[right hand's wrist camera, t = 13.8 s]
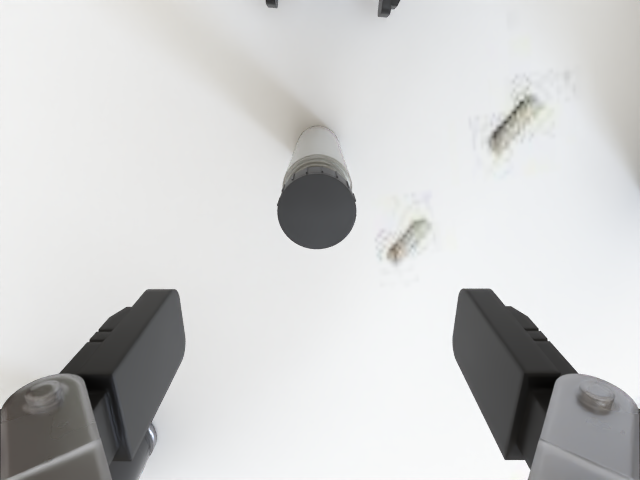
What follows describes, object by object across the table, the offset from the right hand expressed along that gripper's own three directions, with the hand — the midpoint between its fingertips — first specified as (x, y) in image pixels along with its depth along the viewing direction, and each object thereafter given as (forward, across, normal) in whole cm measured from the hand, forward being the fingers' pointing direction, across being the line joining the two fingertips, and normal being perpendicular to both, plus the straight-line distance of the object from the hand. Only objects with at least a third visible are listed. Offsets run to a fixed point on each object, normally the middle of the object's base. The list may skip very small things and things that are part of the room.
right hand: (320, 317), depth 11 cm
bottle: (+32, 0, 0) cm, 32 cm away
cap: (+10, 0, 0) cm, 10 cm away
